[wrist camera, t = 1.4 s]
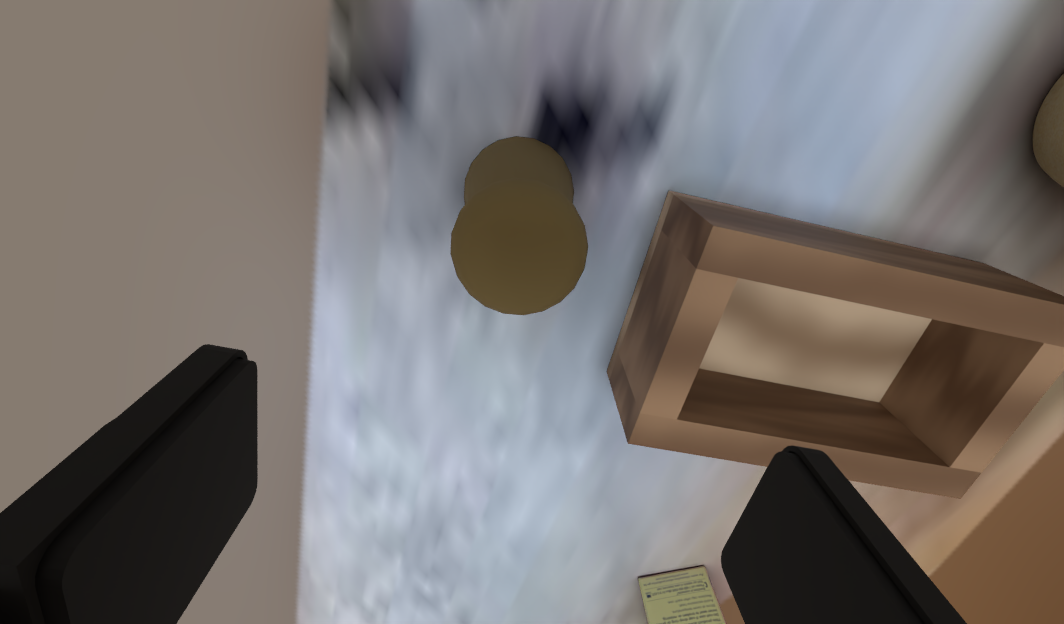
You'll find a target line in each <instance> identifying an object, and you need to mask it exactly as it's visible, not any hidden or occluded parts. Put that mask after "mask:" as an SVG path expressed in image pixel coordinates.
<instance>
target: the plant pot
mask: <svg viewBox="0 0 1064 624" xmlns="http://www.w3.org/2000/svg"><path fill="white" fill-rule="evenodd" d="M1033 152H1034V154H1035V157H1036V160H1037V162H1038V164H1039V165H1040V167H1041V168H1042V170H1043V171H1044V172H1045V173H1046V174H1048V175H1049V176H1050V177H1051V178H1052V179H1053V180H1055V181H1056V182H1057V183H1058V184H1060V185H1061V186H1062V187H1063V188H1064V73H1063V74H1062V76H1061V77H1060V78H1059V79H1058V80H1057V82H1056V83H1055V84H1054V86H1053V87H1052V88H1051V90H1050V91H1049V93H1048V95H1047V96H1046V98H1045V99H1044V101H1043V103H1042V105H1041V108H1040V110H1039V112H1038V115H1037V117H1036V121H1035V125H1034V130H1033Z"/></svg>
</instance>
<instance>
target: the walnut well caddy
mask: <svg viewBox="0 0 1064 624" xmlns="http://www.w3.org/2000/svg"><path fill="white" fill-rule="evenodd" d="M1063 370H1064V296H1062V295H1059V294H1057V293H1054V292H1052V291H1050V290H1047V289H1045V288H1042V287H1040V286H1037V285H1035V284H1033V283H1030V282H1028V281H1025V280H1023V279H1020V278H1018V277H1016V276H1013V275H1011V274H1008V273H1006V272H1004V271H1001V270H999V269H996V268H994V267H991V266H989V265H987V264H984V263H980V262H976V261H972V260H967V259H963V258H959V257H954V256H950V255H946V254H941V253H937V252H933V251H928V250H924V249H920V248H915V247H911V246H907V245H902V244H898V243H894V242H889V241H885V240H881V239H876V238H872V237H868V236H864V235H859V234H855V233H851V232H846V231H842V230H838V229H833V228H829V227H825V226H820V225H816V224H812V223H807V222H803V221H799V220H794V219H790V218H786V217H781V216H777V215H773V214H769V213H764V212H760V211H756V210H751V209H747V208H743V207H738V206H734V205H730V204H725V203H721V202H717V201H712V200H708V199H704V198H699V197H695V196H691V195H686V194H682V193H678V192H673V191H668V194H667V197H666V200H665V202H664V205H663V208H662V211H661V214H660V217H659V220H658V223H657V226H656V229H655V232H654V235H653V238H652V240H651V243H650V246H649V249H648V252H647V255H646V258H645V261H644V264H643V267H642V270H641V273H640V276H639V278H638V281H637V284H636V287H635V290H634V293H633V296H632V299H631V302H630V305H629V308H628V311H627V314H626V316H625V319H624V322H623V325H622V328H621V331H620V334H619V337H618V340H617V343H616V346H615V349H614V352H613V354H612V357H611V360H610V363H609V366H608V369H607V374H608V377H609V381H610V384H611V388H612V391H613V394H614V398H615V401H616V405H617V408H618V411H619V415H620V418H621V422H622V425H623V428H624V432H625V435H626V439H627V442H628V444H634V445H640V446H646V447H652V448H658V449H664V450H670V451H676V452H682V453H688V454H694V455H700V456H706V457H712V458H718V459H724V460H730V461H736V462H742V463H748V464H754V465H760V466H766V467H768V465H769V464H770V462H771V460H772V458H773V456H774V455H775V454H776V453H778V452H781V451H782V450H783V449H784V448H786V447H787V446H792V445H793V446H799V447H805V448H811V449H817V450H820V451H823V452H824V453H826V454H827V455H828V456H829V458H830V459H831V460H832V461H833V462H834V464H835V465H836V466H837V467H838V468H839V470H840V471H841V472H842V473H843V475H844V476H845V477H846V478H847V479H848V480H850V481H856V482H862V483H868V484H874V485H880V486H886V487H892V488H898V489H905V490H911V491H917V492H923V493H929V494H935V495H941V496H947V497H953V498H959V499H961V498H962V496H963V495H964V494H965V493H966V491H967V490H968V489H969V488H970V486H971V485H972V484H973V483H974V481H975V480H976V479H977V478H978V476H979V475H980V474H981V473H982V471H983V470H984V469H985V468H986V466H987V465H988V464H989V463H990V461H991V460H992V459H993V458H994V456H995V455H996V454H997V453H998V451H999V450H1000V449H1001V448H1002V446H1003V445H1004V444H1005V443H1006V441H1007V440H1008V439H1009V438H1010V436H1011V435H1012V434H1013V433H1014V431H1015V430H1016V429H1017V428H1018V426H1019V425H1020V424H1021V423H1022V421H1023V420H1024V419H1025V418H1026V416H1027V415H1028V414H1029V413H1030V411H1031V410H1032V409H1033V408H1034V406H1035V405H1036V404H1037V403H1038V401H1039V400H1040V399H1041V398H1042V396H1043V395H1044V394H1045V393H1046V391H1047V390H1048V389H1049V388H1050V386H1051V385H1052V384H1053V383H1054V381H1055V380H1056V379H1057V378H1058V376H1059V375H1060V374H1061V373H1062V371H1063Z"/></svg>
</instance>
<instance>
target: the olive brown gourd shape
mask: <svg viewBox="0 0 1064 624" xmlns="http://www.w3.org/2000/svg"><path fill="white" fill-rule="evenodd" d="M573 195H574V189H573V183H572V177H571V173H570V171H569V169H568V167H567V166H566V164H565V162H564V160H563V158H562V157H561V156H560V155H559V154H558V153H557V152H555V151H554V150H553V149H552V148H551V147H550V146H549V145H546V144H544V143H542V142H540V141H538V140H536V139H534V138H525V137H517V136H515V137H511V138H506V139H502V140H498V141H496V142H494V143H493V144H491V145H490V146H488V147H486V148H485V149H483V150H482V151H481V152H480V154H479V155H478V156H477V157H476V158H475V160H474V161H473V162H472V163H471V165H470V168H469V171H468V173H467V176H466V178H465V188H464V200H465V206H464V207H463V208H462V209H461V211H460V213H459V215H458V218H457V220H456V223H455V226H454V228H453V231H452V234H451V257H452V260H453V264H454V267H455V270H456V274H457V276H458V278H459V280H460V281H461V283H462V284H463V286H464V287H465V289H466V290H467V291H468V293H469V294H470V295H471V296H473V297H474V298H475V299H476V300H478V301H479V302H480V303H481V304H483V305H484V306H486V307H488V308H491V309H493V310H496V311H499V312H501V313H505V314H516V315H526V314H531V313H536V312H541V311H544V310H546V309H548V308H550V307H552V306H554V305H556V304H557V303H559V302H561V301H562V300H563V299H564V298H565V297H566V296H567V295H568V294H569V293H570V292H571V291H572V290H573V289H574V288H575V286H576V284H577V282H578V280H579V278H580V276H581V274H582V272H583V270H584V267H585V262H586V256H587V250H588V243H587V237H586V231H585V225H584V223H583V221H582V220H581V218H580V216H579V214H578V212H577V210H576V208H575V207H574V205H573Z"/></svg>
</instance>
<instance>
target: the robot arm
mask: <svg viewBox="0 0 1064 624" xmlns="http://www.w3.org/2000/svg"><path fill="white" fill-rule="evenodd" d="M256 488H257V365H256V363H255V362H254V361H249V360H248V359H247V355H246V353H245V352H244V351H243V350H238V349H232V348H225V347H220V346H215V345H209V344H208V345H203V346H201V347H200V348H199V349H197V350H196V351H195V352H194V353H192V354H191V355H190V356H189V357H188V358H187V359H185V360H184V361H183V362H182V363H181V364H180V365H178V366H177V367H176V368H175V369H174V370H172V371H171V372H170V373H169V374H168V375H166V376H165V377H164V378H163V379H162V380H161V381H159V382H158V383H157V384H156V385H155V386H153V387H152V388H151V389H150V390H149V391H148V392H146V393H145V394H144V395H143V396H142V397H140V398H139V399H138V400H137V401H136V402H135V403H134V404H132V405H131V406H130V407H129V408H128V409H126V410H125V411H124V412H123V413H122V414H120V415H119V416H118V417H117V418H115V419H114V420H112V421H111V422H109V423H108V424H106V425H105V426H103V427H102V428H101V429H100V430H99V431H98V432H96V433H95V434H94V435H93V436H92V437H90V438H89V439H88V440H87V441H86V442H85V443H83V444H82V445H81V446H80V447H78V448H77V449H76V450H75V451H74V452H72V453H71V454H70V455H69V456H68V457H67V458H65V459H64V460H63V461H62V462H61V463H59V464H58V465H57V466H56V467H55V468H53V469H52V470H51V471H50V472H49V473H48V474H46V475H45V476H44V477H43V478H42V479H41V480H39V481H38V482H37V483H36V484H34V486H32V487H31V488H30V489H29V490H28V491H26V492H25V493H24V494H23V495H21V496H20V497H19V498H18V499H17V500H15V501H14V502H13V503H12V504H11V505H10V506H8V507H7V508H6V509H5V510H4V511H2V512H1V513H0V624H177V622H178V620H179V618H180V617H181V616H182V614H183V612H184V611H185V609H186V608H187V606H188V604H189V603H190V601H191V600H192V598H193V596H194V595H195V593H196V592H197V590H198V588H199V587H200V585H201V584H202V582H203V580H204V579H205V577H206V576H207V574H208V572H209V571H210V569H211V567H212V566H213V564H214V563H215V561H216V559H217V558H218V556H219V555H220V553H221V551H222V550H223V548H224V547H225V545H226V543H227V542H228V540H229V539H230V537H231V535H232V534H233V532H234V531H235V529H236V527H237V526H238V524H239V523H240V521H241V519H242V518H243V516H244V515H245V513H246V511H247V510H248V508H249V506H250V505H251V503H252V501H253V498H254V495H255V493H256ZM721 564H722V569H723V572H724V575H725V577H726V579H727V582H728V584H729V586H730V589H731V591H732V594H733V596H734V598H735V601H736V603H737V605H738V608H739V610H740V613H741V615H742V617H743V620H744V622H745V624H967V623H966V622H965V621H964V620H963V619H962V617H961V616H960V615H959V614H958V612H957V611H956V610H955V609H954V608H953V606H952V605H951V604H950V603H949V601H948V600H947V599H946V598H945V597H944V595H943V594H942V593H941V592H940V591H939V589H938V588H937V587H936V586H935V585H934V583H933V582H932V581H931V580H930V579H929V577H928V576H927V575H926V574H925V572H924V571H923V570H922V569H921V568H920V566H919V565H918V564H917V563H916V562H915V560H914V559H913V558H912V557H911V556H910V554H909V553H908V552H907V551H906V549H905V548H904V547H903V546H902V545H901V543H900V542H899V541H898V540H897V539H896V537H895V536H894V535H893V534H892V533H891V531H890V530H889V529H888V528H887V527H886V525H885V524H884V523H883V522H882V520H881V519H880V518H879V517H878V516H877V514H876V513H875V512H874V511H873V510H872V508H871V507H870V506H869V505H868V504H867V502H866V501H865V500H864V499H863V497H862V496H861V495H860V494H859V493H858V491H857V490H856V489H855V488H854V487H853V485H852V484H851V483H850V482H849V481H848V479H847V478H846V477H845V476H844V475H843V473H842V472H841V471H840V470H839V468H838V467H837V466H836V465H835V464H834V462H833V461H832V460H831V459H830V458H829V456H828V455H827V454H826V453H824V452H823V451H820V450H817V449H811V448H805V447H799V446H793V445H792V446H787V447H786V448H784V449H783V450H782V451H781V452H778V453H776V454H775V455H774V456H773V458H772V460H771V462H770V464H769V465H768V467H767V469H766V471H765V473H764V475H763V476H762V478H761V480H760V482H759V484H758V486H757V487H756V489H755V491H754V493H753V495H752V497H751V499H750V500H749V502H748V504H747V506H746V508H745V510H744V511H743V513H742V515H741V517H740V519H739V521H738V523H737V524H736V526H735V528H734V530H733V532H732V534H731V535H730V537H729V539H728V541H727V543H726V545H725V546H724V548H723V551H722V555H721Z"/></svg>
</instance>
